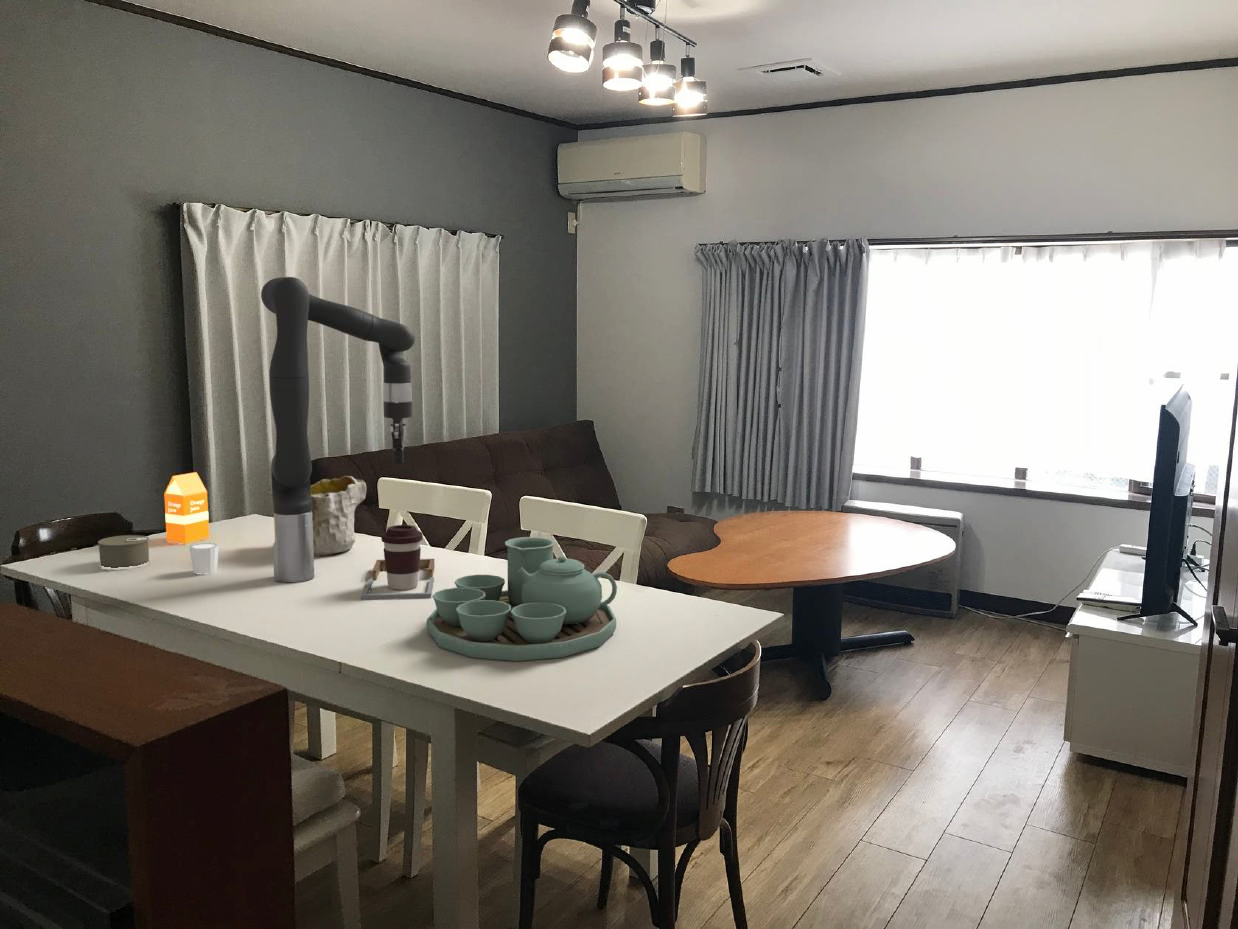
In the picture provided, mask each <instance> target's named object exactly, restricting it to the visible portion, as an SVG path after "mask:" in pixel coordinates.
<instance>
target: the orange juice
mask: <svg viewBox="0 0 1238 929" xmlns="http://www.w3.org/2000/svg"><path fill="white" fill-rule="evenodd" d="M163 494H164V508H165V509H164V511H165V512H164V514H165V516H164V517H165V530H166V542H167V541H172V542H178V543H184V544H186V543H189V542H193V541H198V540H201V539H205V538H209V539H210V524H209V508H208V507H209V504H208V490H207V489H206V487H205V485H204V484H203V481H202V479H201V478H200V476H199V474H198V473H197V471H195V472H189V473H183V474H177V475H172V477H171V479H170V482H169V484H168V485H167V487H166V489H165V491H164V493H163Z"/></svg>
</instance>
